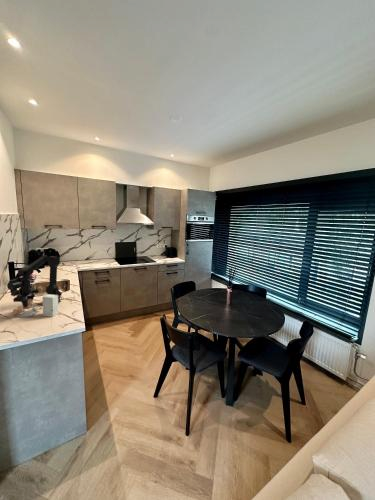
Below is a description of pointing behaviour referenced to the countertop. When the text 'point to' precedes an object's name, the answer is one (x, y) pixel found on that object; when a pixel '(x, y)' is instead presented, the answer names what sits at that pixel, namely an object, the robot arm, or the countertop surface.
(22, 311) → the peach rounded capsule
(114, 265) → the countertop surface
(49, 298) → the skincare box
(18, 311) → the peach capsule shape
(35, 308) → the grey ball
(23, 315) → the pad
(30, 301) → the walnut block
